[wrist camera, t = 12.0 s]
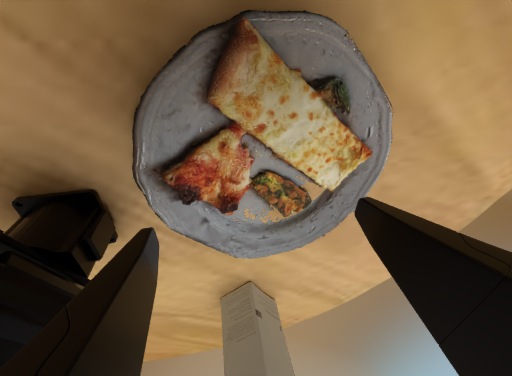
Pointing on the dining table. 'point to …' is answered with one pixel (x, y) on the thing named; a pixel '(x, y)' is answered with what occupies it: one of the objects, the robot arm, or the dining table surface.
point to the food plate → (261, 132)
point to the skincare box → (253, 335)
